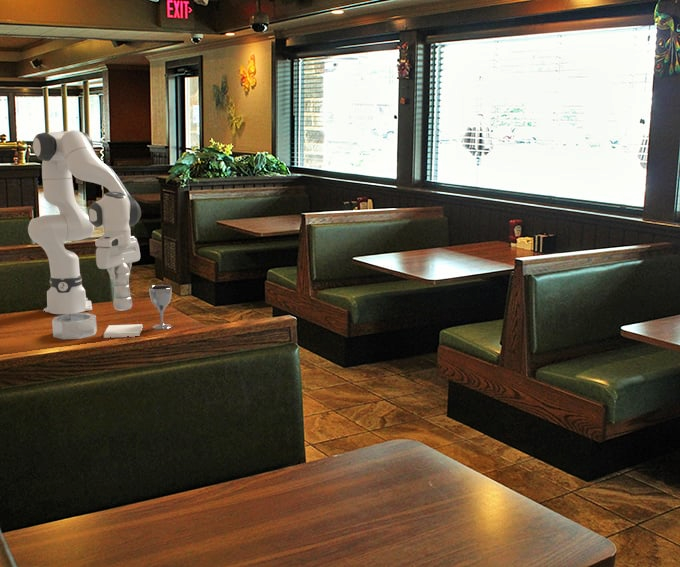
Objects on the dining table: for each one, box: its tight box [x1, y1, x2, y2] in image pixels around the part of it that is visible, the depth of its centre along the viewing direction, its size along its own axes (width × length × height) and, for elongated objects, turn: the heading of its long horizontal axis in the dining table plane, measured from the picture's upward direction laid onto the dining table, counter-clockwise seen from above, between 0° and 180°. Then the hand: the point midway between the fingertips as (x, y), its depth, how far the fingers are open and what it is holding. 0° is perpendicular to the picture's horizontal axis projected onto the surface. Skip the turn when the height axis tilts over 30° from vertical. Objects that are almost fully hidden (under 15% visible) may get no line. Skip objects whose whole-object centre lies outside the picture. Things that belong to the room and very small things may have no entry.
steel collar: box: [51, 312, 98, 340], centre depth 282 cm, size 14×14×6 cm
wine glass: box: [148, 284, 173, 330], centre depth 291 cm, size 8×8×15 cm
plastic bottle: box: [112, 259, 133, 312], centre depth 280 cm, size 6×7×20 cm
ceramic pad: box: [103, 323, 143, 339], centre depth 283 cm, size 12×12×2 cm
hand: (120, 277), depth 280 cm, fingers closed on plastic bottle, 6 cm apart
